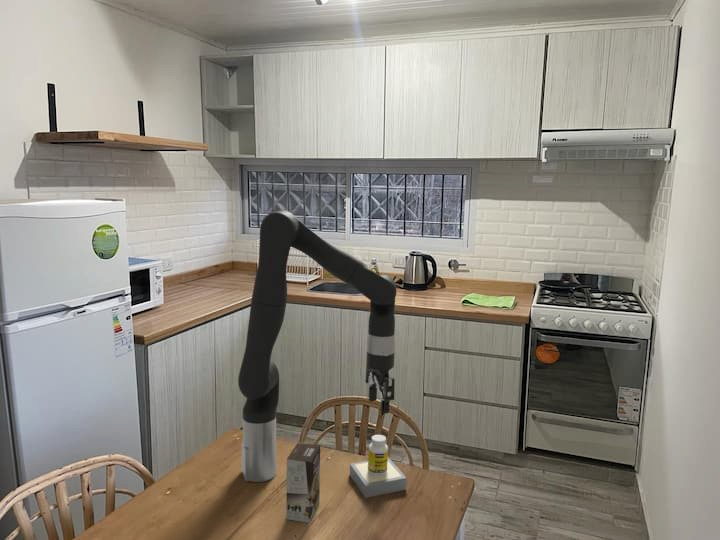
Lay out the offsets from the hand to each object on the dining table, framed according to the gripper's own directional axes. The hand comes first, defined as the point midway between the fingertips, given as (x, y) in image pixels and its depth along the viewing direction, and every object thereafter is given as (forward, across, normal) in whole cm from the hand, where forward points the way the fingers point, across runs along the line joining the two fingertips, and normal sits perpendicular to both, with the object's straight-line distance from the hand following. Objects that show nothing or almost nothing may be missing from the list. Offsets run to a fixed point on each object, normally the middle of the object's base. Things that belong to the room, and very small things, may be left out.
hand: (378, 406), depth 148 cm
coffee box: (+22, +7, -23) cm, 33 cm away
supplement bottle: (+19, +1, 0) cm, 19 cm away
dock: (+22, +1, 0) cm, 22 cm away
